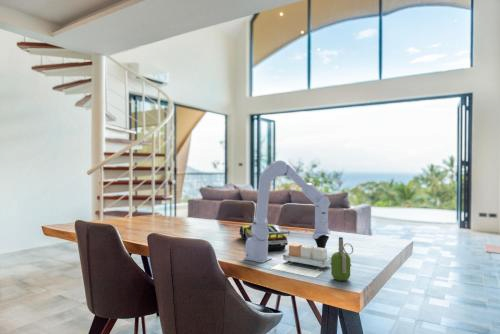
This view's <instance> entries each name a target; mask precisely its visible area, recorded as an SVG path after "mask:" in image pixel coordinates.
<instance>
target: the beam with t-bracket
mask: <svg viewBox="0 0 500 334" xmlns="http://www.w3.org/2000/svg"><path fill="white" fill-rule="evenodd" d="M282 257H283V260H284V261H287V264H288V263H291V262H292V261H293V263H299V264H305V265H311V266H315V267H316V269H320V270H321V269H322V268H321V267H323V268H325V267H327V266H328V265H331V264H330V263H331V257H327V259H326V260H324V261H319V260H313V259H307V258H301V257H296V256H290V255H289V252H287V253H284V254H283V255H282ZM291 264H292V263H291Z"/></svg>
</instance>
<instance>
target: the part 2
mask: <svg viewBox="0 0 500 334" xmlns="http://www.w3.org/2000/svg"><path fill="white" fill-rule="evenodd" d="M327 252H328V249H327V248H326V247H325V248H320V247H314V249H313V260H319V261H324V260H326V259H327V258H328V253H327Z"/></svg>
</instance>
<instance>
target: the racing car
mask: <svg viewBox="0 0 500 334" xmlns="http://www.w3.org/2000/svg"><path fill="white" fill-rule="evenodd" d="M252 225H253V224H251V225H241V226H240V227H239V235H240V237H241V239H244V240H245V242H246V241H247V239H248V238H251V237H252V236H253V234H252V232H251V226H252ZM267 227H268V230H269V235H268V237H267V238H268V251H278V250H279V251H281V250H285V249H286V246H289V245H288V244H289V243H288V237H287V235H290V231H289V230H287V231H278V229H276V227H275V226H274V225H273V224H270V223H268V225H267ZM286 234H287V235H286Z"/></svg>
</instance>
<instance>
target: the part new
mask: <svg viewBox="0 0 500 334" xmlns="http://www.w3.org/2000/svg"><path fill="white" fill-rule="evenodd" d="M302 246H303V245H302V244H299V243H291V244H289V245H288V253H289V255H290V256H296V257H301V247H302Z"/></svg>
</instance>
